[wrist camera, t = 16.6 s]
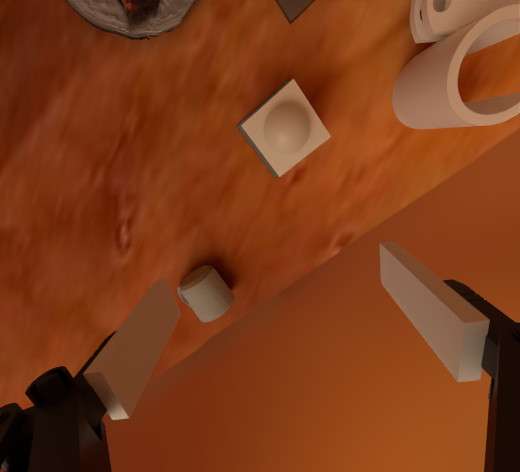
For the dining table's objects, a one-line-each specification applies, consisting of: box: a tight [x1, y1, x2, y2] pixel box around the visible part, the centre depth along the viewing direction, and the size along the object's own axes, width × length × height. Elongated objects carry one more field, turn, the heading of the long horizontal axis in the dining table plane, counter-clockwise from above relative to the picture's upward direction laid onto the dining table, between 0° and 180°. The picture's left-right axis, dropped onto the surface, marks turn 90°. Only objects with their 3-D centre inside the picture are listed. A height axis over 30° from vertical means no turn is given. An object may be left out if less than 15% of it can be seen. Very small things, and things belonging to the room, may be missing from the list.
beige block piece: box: [241, 79, 331, 177], centre depth 34 cm, size 8×8×9 cm
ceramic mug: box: [178, 265, 234, 322], centre depth 46 cm, size 11×8×8 cm
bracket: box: [392, 0, 520, 129], centre depth 28 cm, size 25×10×12 cm, turn 15°
